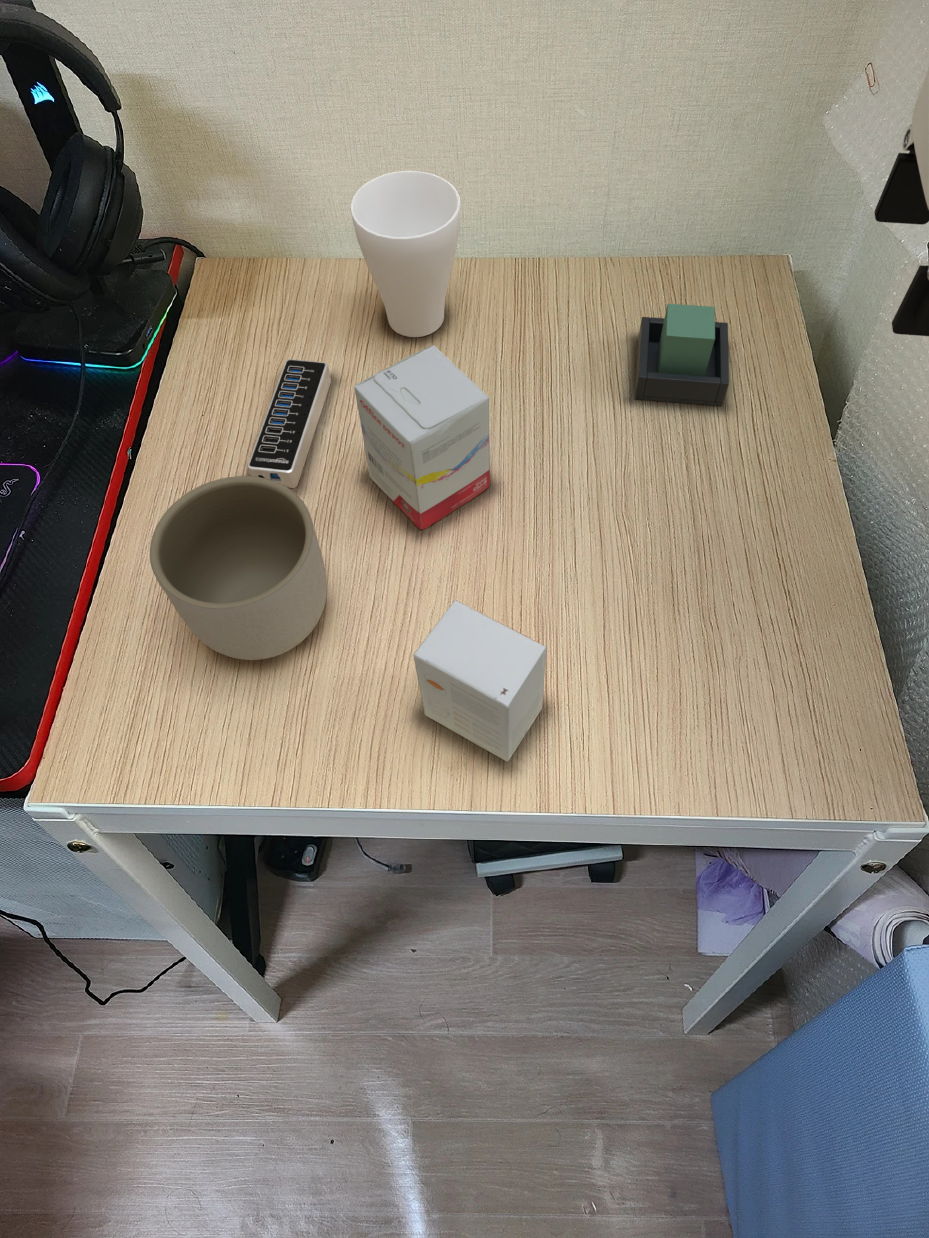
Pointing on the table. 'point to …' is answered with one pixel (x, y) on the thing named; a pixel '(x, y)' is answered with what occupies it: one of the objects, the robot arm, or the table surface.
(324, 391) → the multiport hub
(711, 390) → the socket
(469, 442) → the ink box
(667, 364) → the pad block
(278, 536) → the planter
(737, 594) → the table surface
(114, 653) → the table surface
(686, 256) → the table surface
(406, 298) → the cup
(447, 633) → the small box
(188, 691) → the table surface
